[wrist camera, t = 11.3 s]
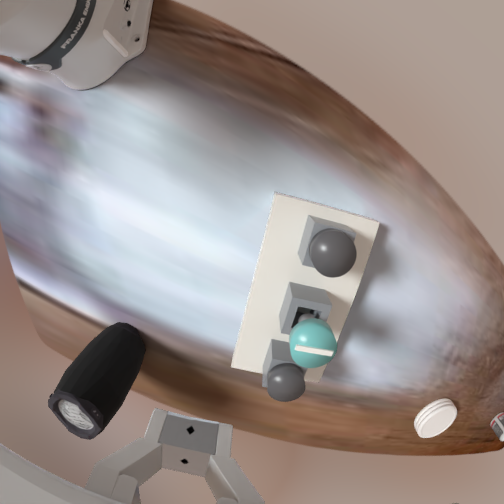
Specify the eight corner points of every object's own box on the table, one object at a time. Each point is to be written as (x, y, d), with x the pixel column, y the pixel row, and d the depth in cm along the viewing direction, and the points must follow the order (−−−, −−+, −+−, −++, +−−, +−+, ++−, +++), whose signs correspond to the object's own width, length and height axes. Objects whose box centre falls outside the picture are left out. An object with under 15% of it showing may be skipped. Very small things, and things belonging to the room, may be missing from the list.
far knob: (272, 343, 41) (273, 371, 35) (304, 350, 41) (310, 377, 35) (263, 369, 42) (263, 398, 36) (294, 375, 43) (298, 403, 37)
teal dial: (293, 298, 35) (299, 326, 29) (331, 306, 35) (344, 335, 29) (281, 333, 36) (285, 365, 30) (318, 340, 36) (328, 372, 30)
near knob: (310, 217, 36) (319, 227, 30) (346, 227, 36) (362, 239, 30) (299, 254, 38) (306, 272, 32) (335, 263, 38) (348, 281, 32)
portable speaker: (94, 326, 47) (32, 394, 28) (135, 313, 45) (76, 390, 27) (117, 366, 49) (70, 441, 30) (159, 356, 48) (118, 442, 29)
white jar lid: (417, 434, 53) (422, 444, 50) (408, 414, 51) (414, 425, 47) (454, 412, 51) (460, 421, 48) (448, 389, 49) (455, 399, 46)
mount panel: (274, 191, 40) (277, 198, 32) (372, 218, 40) (394, 230, 32) (232, 355, 47) (227, 387, 39) (316, 371, 47) (323, 403, 40)
